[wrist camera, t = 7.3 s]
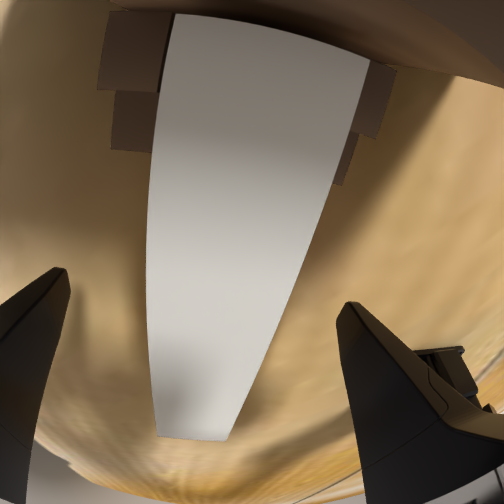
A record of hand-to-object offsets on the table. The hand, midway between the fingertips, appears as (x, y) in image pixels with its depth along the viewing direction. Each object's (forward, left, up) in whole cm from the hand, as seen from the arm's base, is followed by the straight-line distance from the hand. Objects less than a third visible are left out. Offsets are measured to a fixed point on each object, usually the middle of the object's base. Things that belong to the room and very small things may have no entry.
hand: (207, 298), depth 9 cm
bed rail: (0, 0, -3) cm, 3 cm away
